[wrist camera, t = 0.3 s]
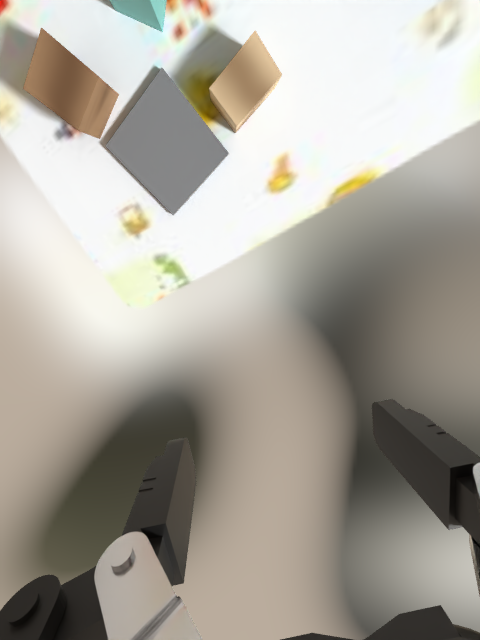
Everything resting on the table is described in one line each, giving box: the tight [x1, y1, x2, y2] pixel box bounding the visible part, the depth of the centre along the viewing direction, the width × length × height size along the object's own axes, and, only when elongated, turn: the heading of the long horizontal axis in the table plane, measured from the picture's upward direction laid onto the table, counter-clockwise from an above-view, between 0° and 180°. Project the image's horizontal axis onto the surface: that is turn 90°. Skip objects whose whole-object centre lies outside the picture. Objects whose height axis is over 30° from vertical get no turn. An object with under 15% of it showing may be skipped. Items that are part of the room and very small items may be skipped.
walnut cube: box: [23, 28, 119, 139], centre depth 25 cm, size 5×5×5 cm
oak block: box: [209, 31, 282, 133], centre depth 26 cm, size 6×4×4 cm, turn 133°
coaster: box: [106, 68, 229, 215], centre depth 29 cm, size 10×10×1 cm
